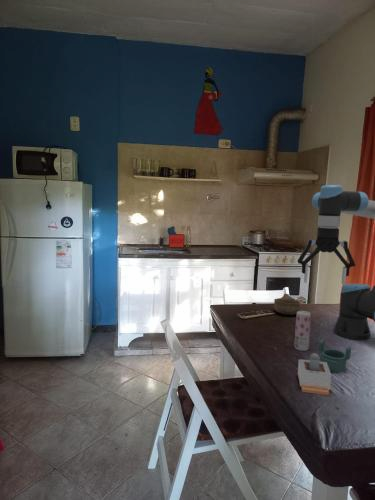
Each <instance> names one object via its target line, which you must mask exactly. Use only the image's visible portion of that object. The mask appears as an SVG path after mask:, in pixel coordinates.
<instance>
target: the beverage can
mask: <svg viewBox="0 0 375 500" xmlns="http://www.w3.org/2000/svg"><path fill="white" fill-rule="evenodd" d="M311 314H312V313H311V312H310V311H306V310H299V311H298V312H297V313H296V314H295V315H296V317H295V330H294V333H295V334H294V341H293V342H294V345H293V347H294V348H295V350H297V351H301V352H302V351H303V352H304V351H305V352H306V351H308V350H309V348H310V339H311V338H310V333H311V322H312V320H311V319H312V315H311Z"/></svg>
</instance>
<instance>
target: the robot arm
mask: <svg viewBox="0 0 375 500" xmlns="http://www.w3.org/2000/svg"><path fill="white" fill-rule="evenodd" d="M311 204H312V207H313V209H315V210H318V219H317V226H318V228H317V232H316V239H315V240H313V239H311V238H310V239H308V240H307V244H306V246H305V247H304V249H303V251H302V252H301V254H300V256H299V258H298V259H297V261H296V262H297V263H298V264H299V265H301V273H302V274H304V275H303V276H304V277H303V281H304V283H306V284H307V283H308V271H309V265H308V264H309V262H310V261H312V259H313V258H315V256H317V255H318V254H319V253H320V252H322V253H334V254H335V256H337V257H338V259H339V260H340V261H341V262H342V264H343V265H344V266H342V274H341V285H342V286H341V290H340V298H339V313H338V317H337V319H336V321H335V323H334V325H333V333H335V334H336V335H337V336H340V337H342V338H344V339H349V340H357V341H360V340H361V341H363V340H368V339H370V338H371V329H370V325H369V322H368V319H370V320H373V321H375V284H373V286H372V288H371V286H370V285H369V284H366V283H346V281H347V277H349V275H350V268H353V267H355V266H356V262H355V261H354V258H353V255H352V254H351V251H350V250H349V246H348V243H349V242H348V241H346V240H342V241H339V239H340V238H339V237H340V236H339V235H340V228H339V227H340V223H341V214H345V215H350V216H357V217H361V218H362V217H363V218H369V219H373V220H374V221H375V200H371V199H369V196H368V195H367V194H366V193H365V192H364V191H354V190H353V191H352V190H351V191H350V190H348V191H346V190H345V191H344V189H343V186H342V185H341V184H325V185H322V186H321V187H320V191H318V192H316V193H315V194H314V195H313V196H312V200H311ZM314 244H315V246H316V248H315V249H314V250H313V251H312V252H311V253H310V254H309V255H307V254H308V252H309V251H310V249H311V247H312V246H314ZM339 246H340V247H342V248H343V252H344V253H345V256H346V257H347V259H348V261H347V260H346V259H345V258H344V256H343V255H342V254H341V253H340V251H339V250H338V249H337V248H338V247H339ZM306 256H307V257H306ZM348 262H349V263H348Z"/></svg>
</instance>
